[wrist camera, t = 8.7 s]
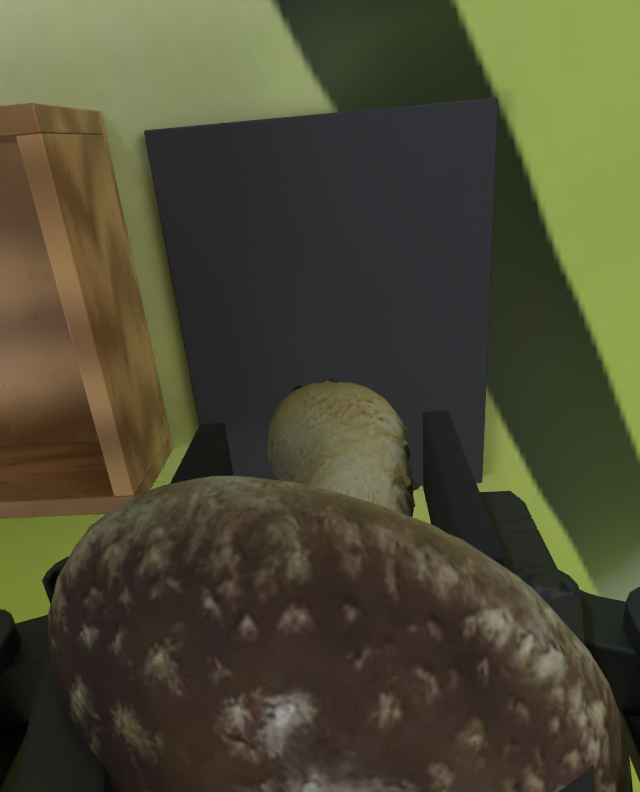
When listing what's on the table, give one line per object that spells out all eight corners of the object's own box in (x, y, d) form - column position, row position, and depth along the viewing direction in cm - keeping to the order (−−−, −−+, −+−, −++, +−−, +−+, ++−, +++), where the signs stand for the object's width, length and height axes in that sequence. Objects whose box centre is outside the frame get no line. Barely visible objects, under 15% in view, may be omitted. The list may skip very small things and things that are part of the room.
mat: (147, 130, 27) (143, 130, 26) (494, 98, 25) (498, 97, 25) (214, 490, 35) (212, 495, 34) (480, 477, 34) (482, 483, 33)
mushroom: (467, 486, 22) (704, 1044, 9) (257, 534, 23) (166, 1106, 9) (419, 250, 18) (706, 569, 5) (170, 319, 19) (-187, 750, 6)
